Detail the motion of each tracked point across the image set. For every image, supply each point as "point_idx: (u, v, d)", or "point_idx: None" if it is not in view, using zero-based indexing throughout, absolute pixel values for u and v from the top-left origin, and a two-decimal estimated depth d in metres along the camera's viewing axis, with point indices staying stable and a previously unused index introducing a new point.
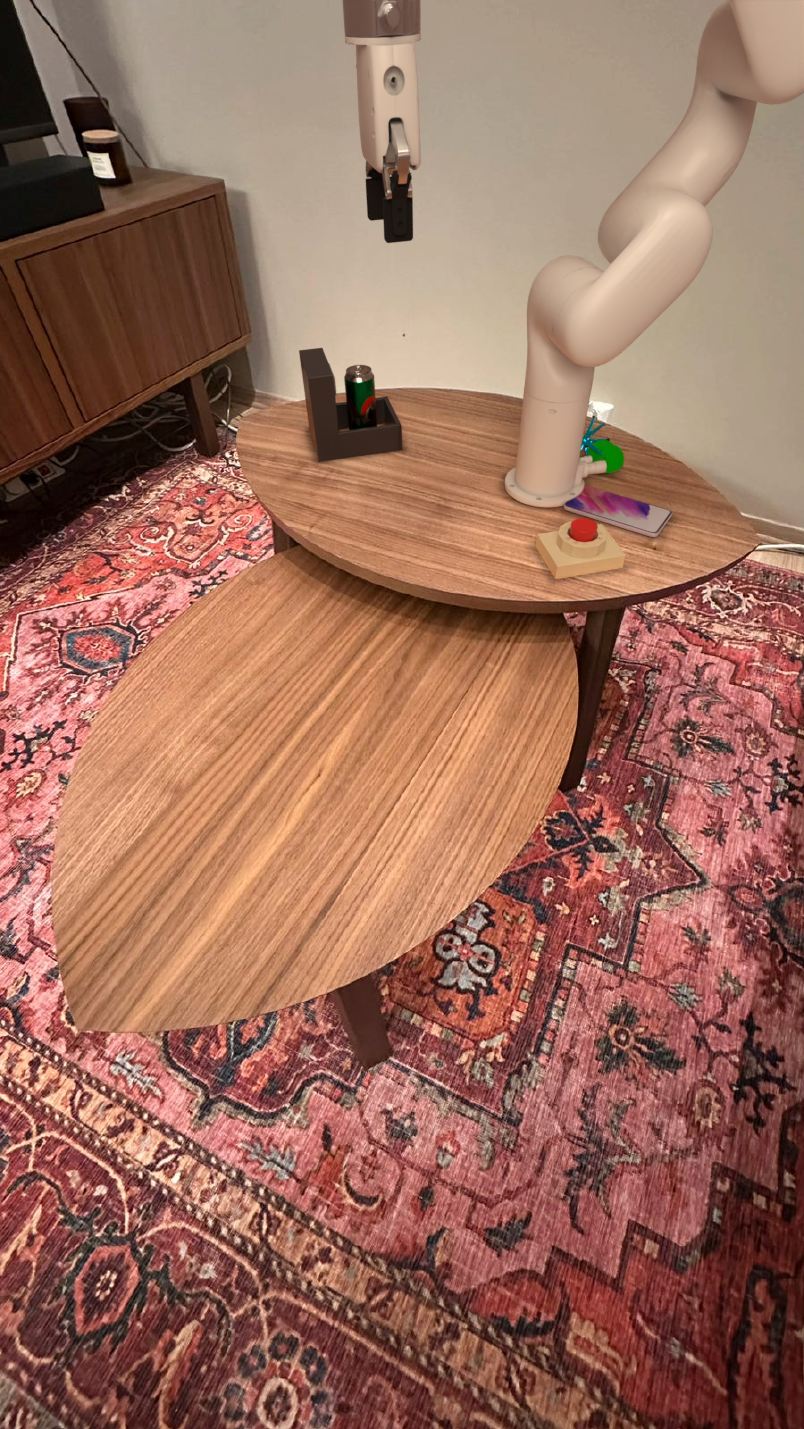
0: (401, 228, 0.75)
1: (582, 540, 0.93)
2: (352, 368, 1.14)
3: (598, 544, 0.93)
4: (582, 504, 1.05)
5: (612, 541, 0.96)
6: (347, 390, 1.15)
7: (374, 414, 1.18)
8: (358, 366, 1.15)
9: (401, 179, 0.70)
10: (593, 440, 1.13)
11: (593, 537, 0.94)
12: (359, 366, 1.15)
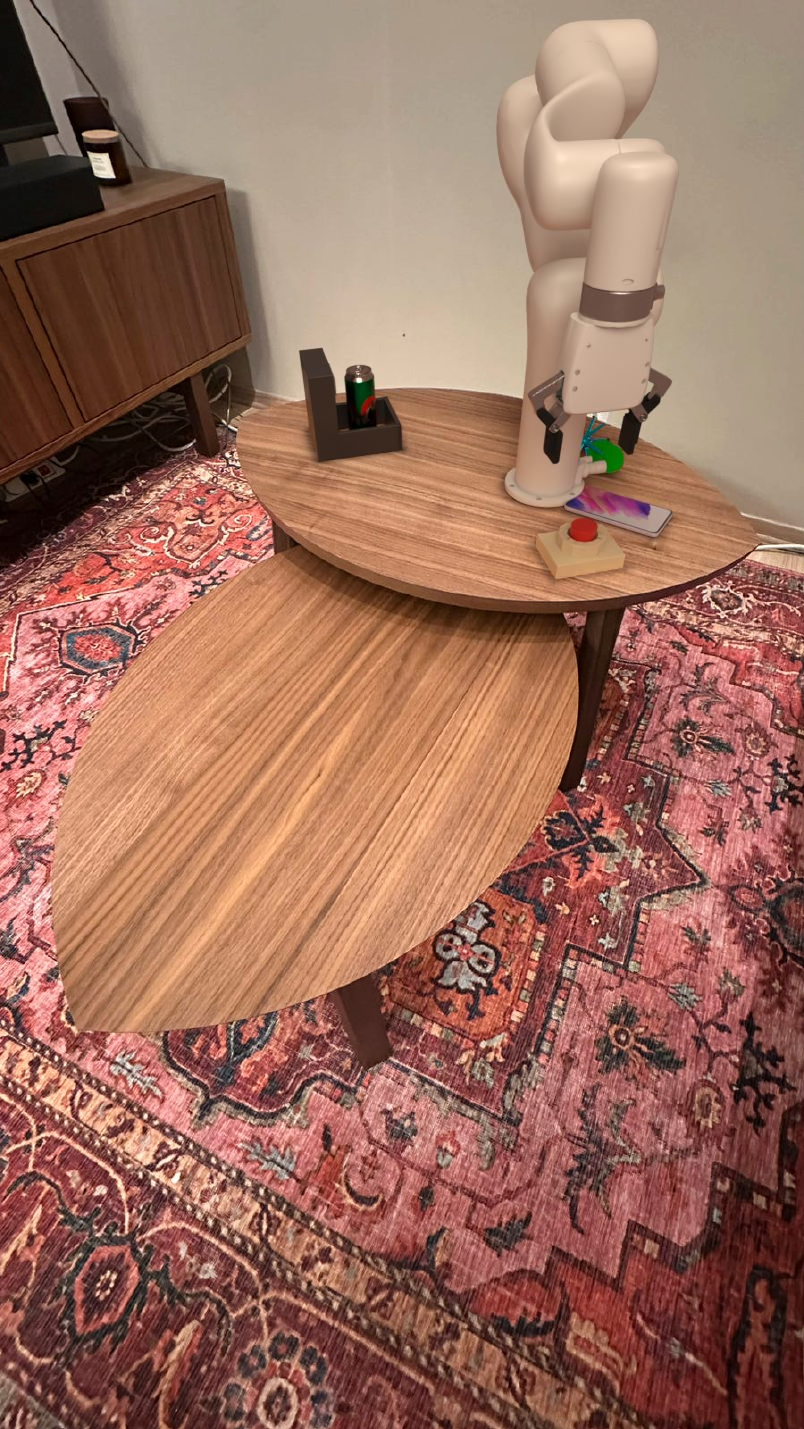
0: None
1: (582, 540, 0.93)
2: (352, 368, 1.14)
3: (598, 544, 0.93)
4: (583, 504, 1.05)
5: (612, 541, 0.96)
6: (347, 390, 1.15)
7: (374, 414, 1.18)
8: (358, 366, 1.15)
9: None
10: (593, 440, 1.13)
11: (593, 537, 0.94)
12: (359, 366, 1.15)
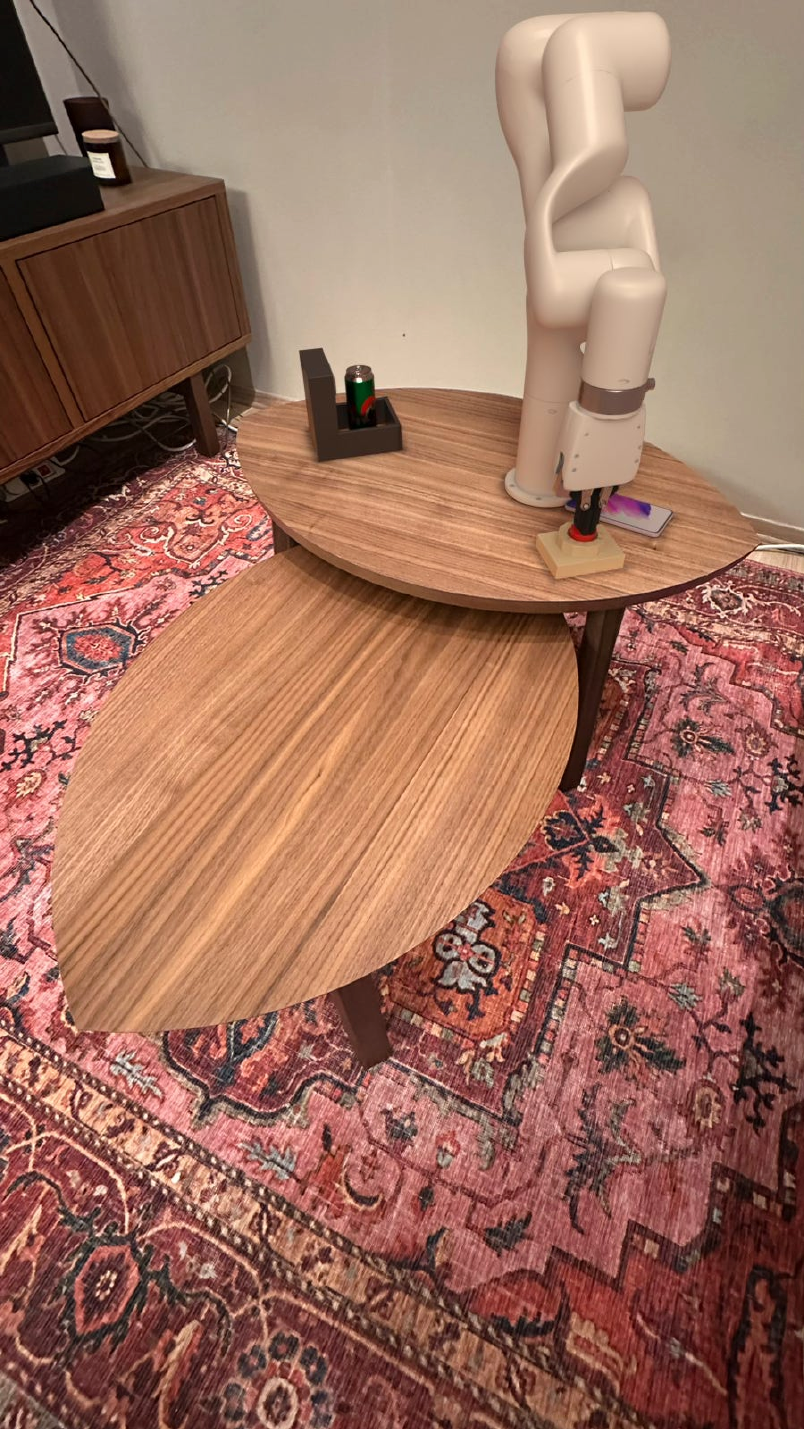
0: None
1: None
2: (352, 368, 1.14)
3: (598, 544, 0.93)
4: None
5: (612, 541, 0.96)
6: (347, 390, 1.15)
7: (374, 414, 1.18)
8: (358, 366, 1.15)
9: None
10: None
11: None
12: (359, 366, 1.15)
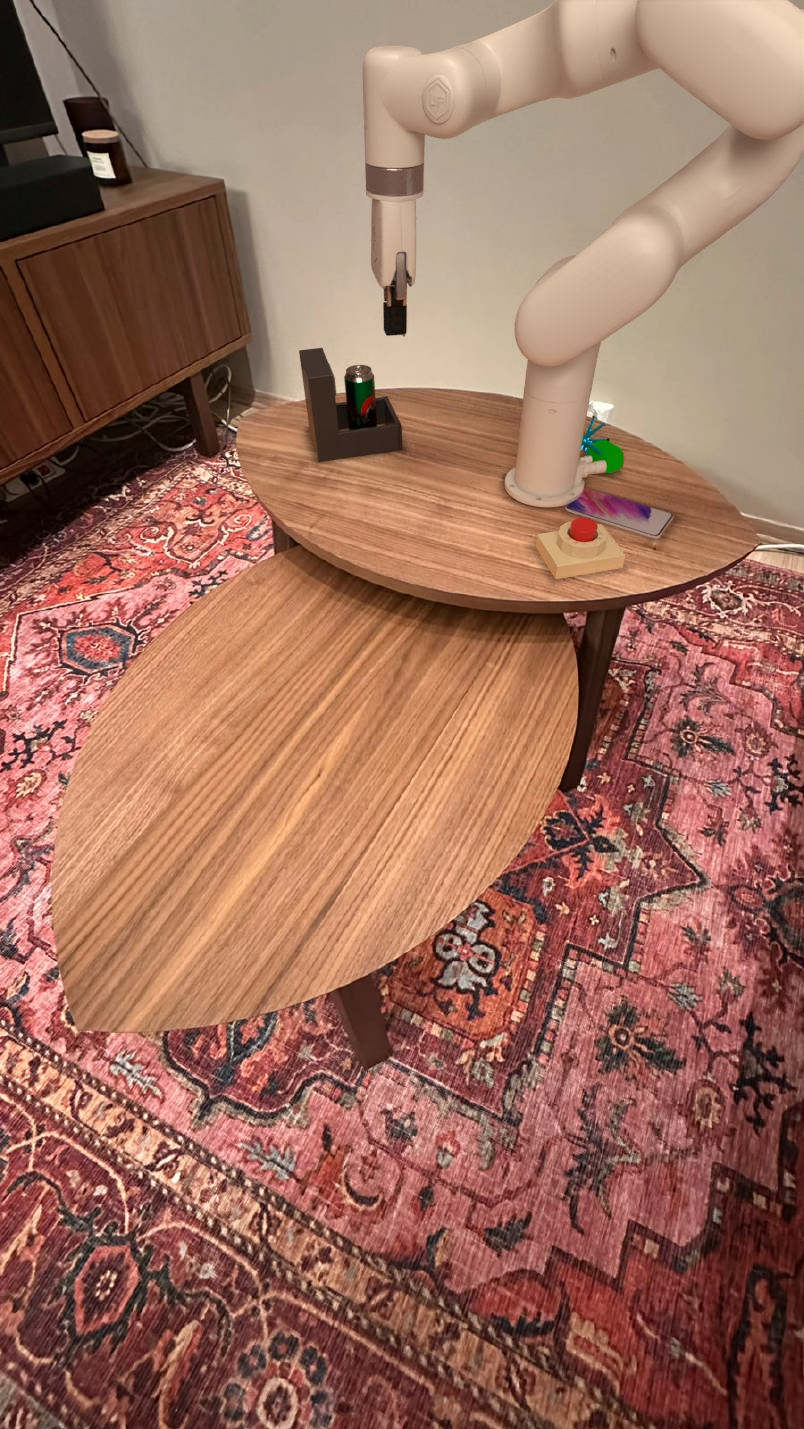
0: None
1: (582, 540, 0.93)
2: (352, 368, 1.14)
3: (598, 544, 0.93)
4: (584, 507, 1.05)
5: (612, 541, 0.96)
6: (347, 390, 1.15)
7: (374, 414, 1.18)
8: (358, 366, 1.15)
9: None
10: (593, 440, 1.13)
11: (593, 537, 0.94)
12: (359, 366, 1.15)
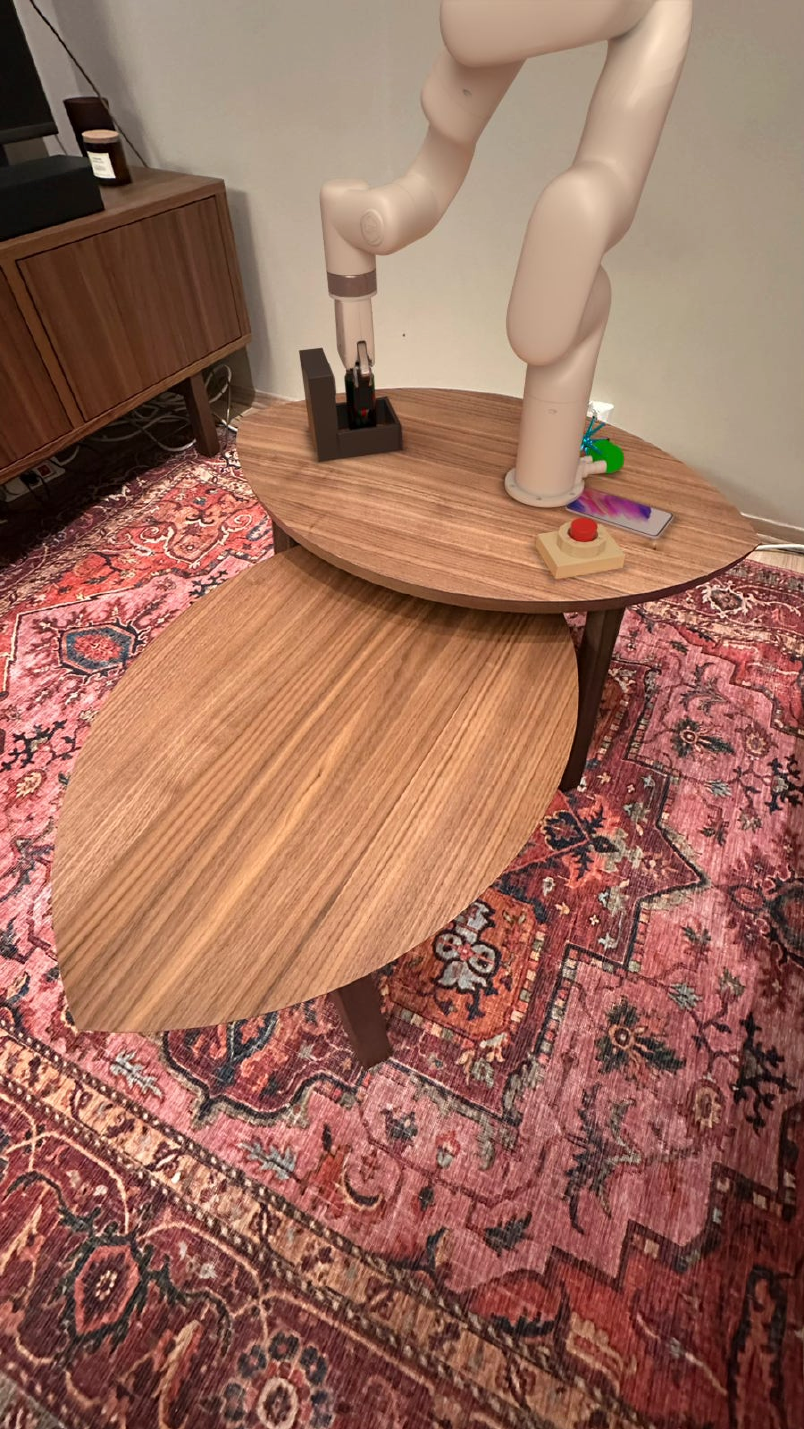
0: None
1: (582, 540, 0.93)
2: None
3: (598, 544, 0.93)
4: (584, 507, 1.05)
5: (612, 541, 0.96)
6: (347, 390, 1.15)
7: (374, 414, 1.18)
8: None
9: None
10: (593, 440, 1.13)
11: (593, 537, 0.94)
12: None
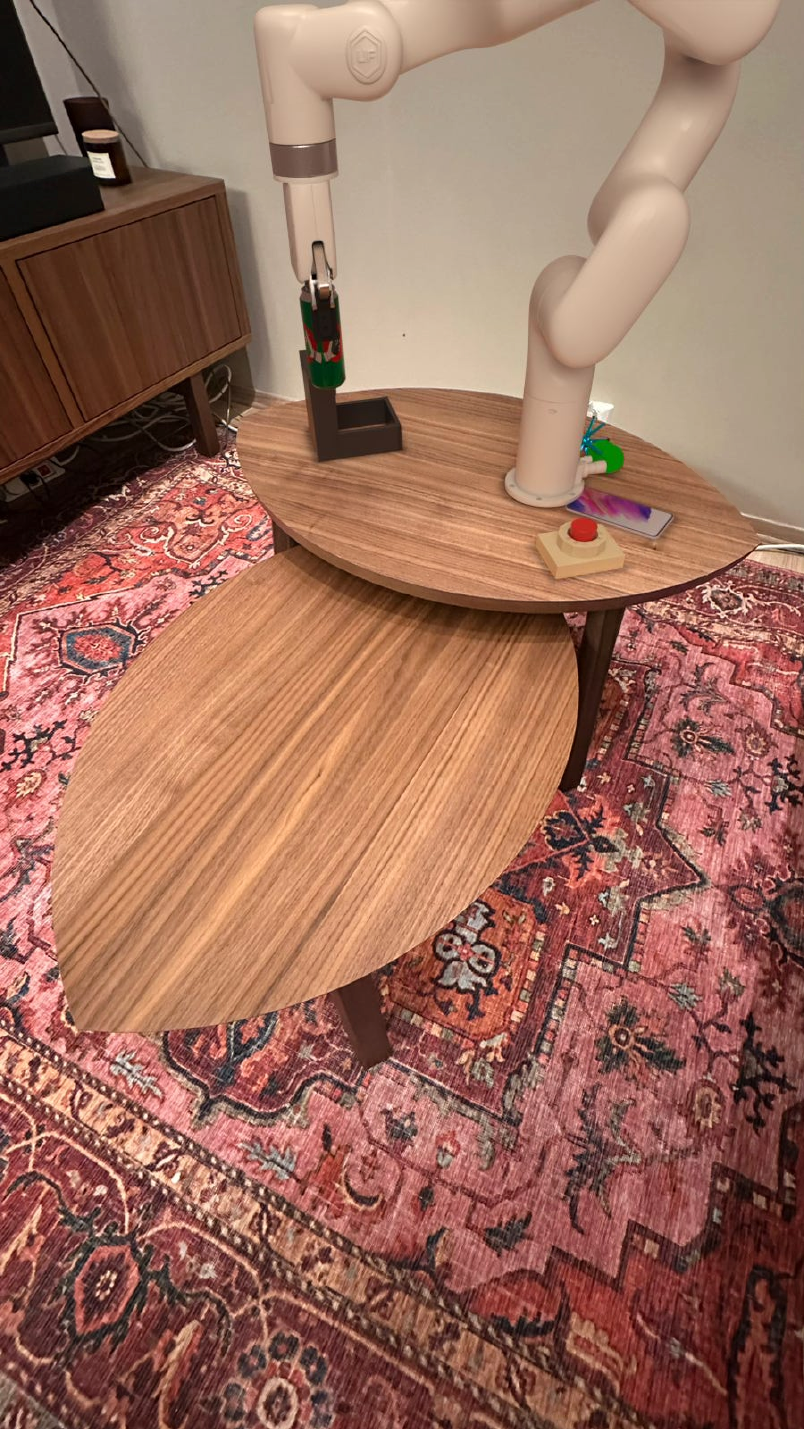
0: None
1: (582, 540, 0.93)
2: None
3: (598, 544, 0.93)
4: (584, 506, 1.05)
5: (612, 541, 0.96)
6: (303, 315, 0.89)
7: (340, 348, 0.92)
8: None
9: None
10: (593, 440, 1.13)
11: (593, 537, 0.94)
12: None
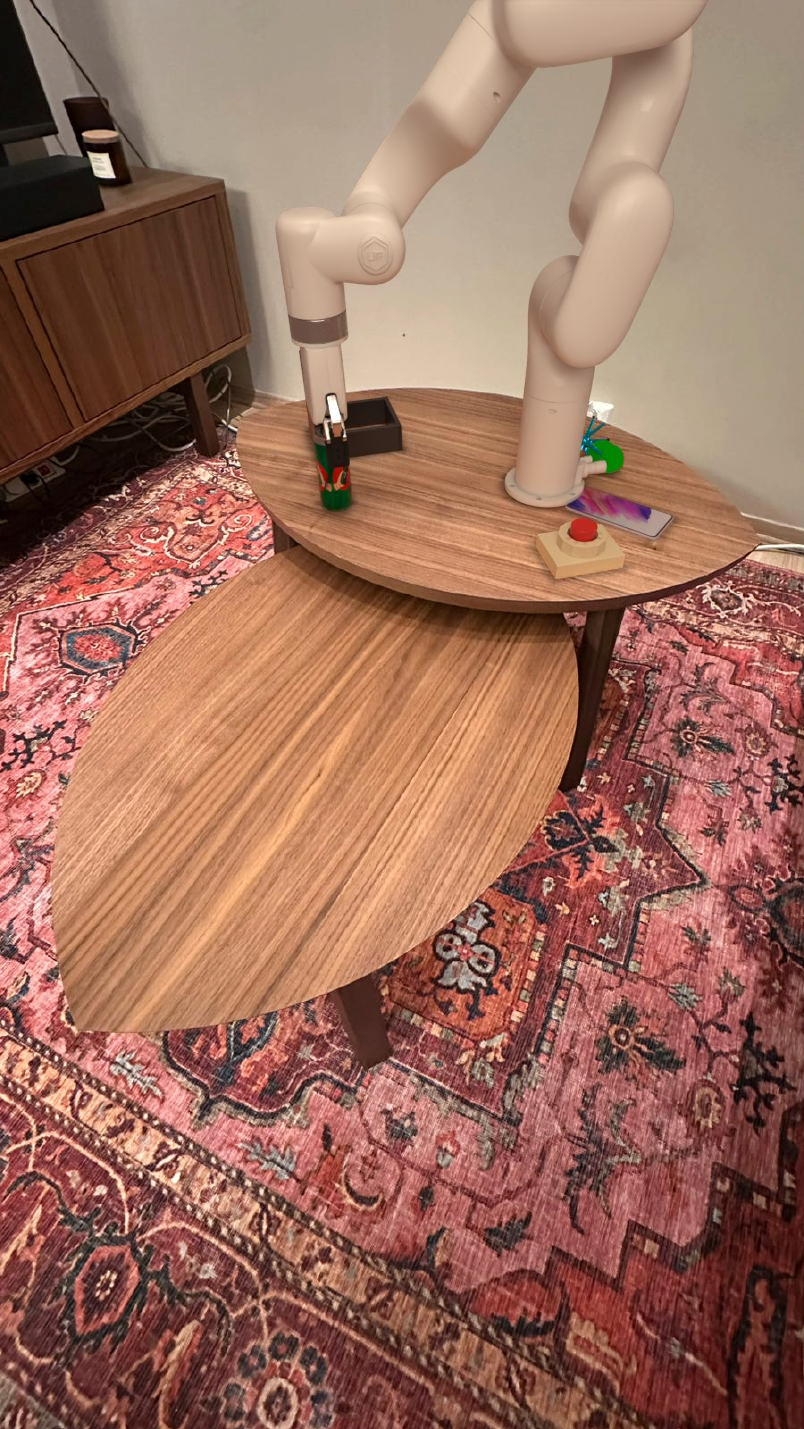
0: None
1: (582, 540, 0.93)
2: (321, 429, 1.00)
3: (598, 544, 0.93)
4: (584, 506, 1.06)
5: (612, 541, 0.96)
6: (316, 454, 1.01)
7: (348, 479, 1.04)
8: (329, 426, 1.01)
9: None
10: (593, 440, 1.13)
11: (593, 537, 0.94)
12: (330, 426, 1.01)
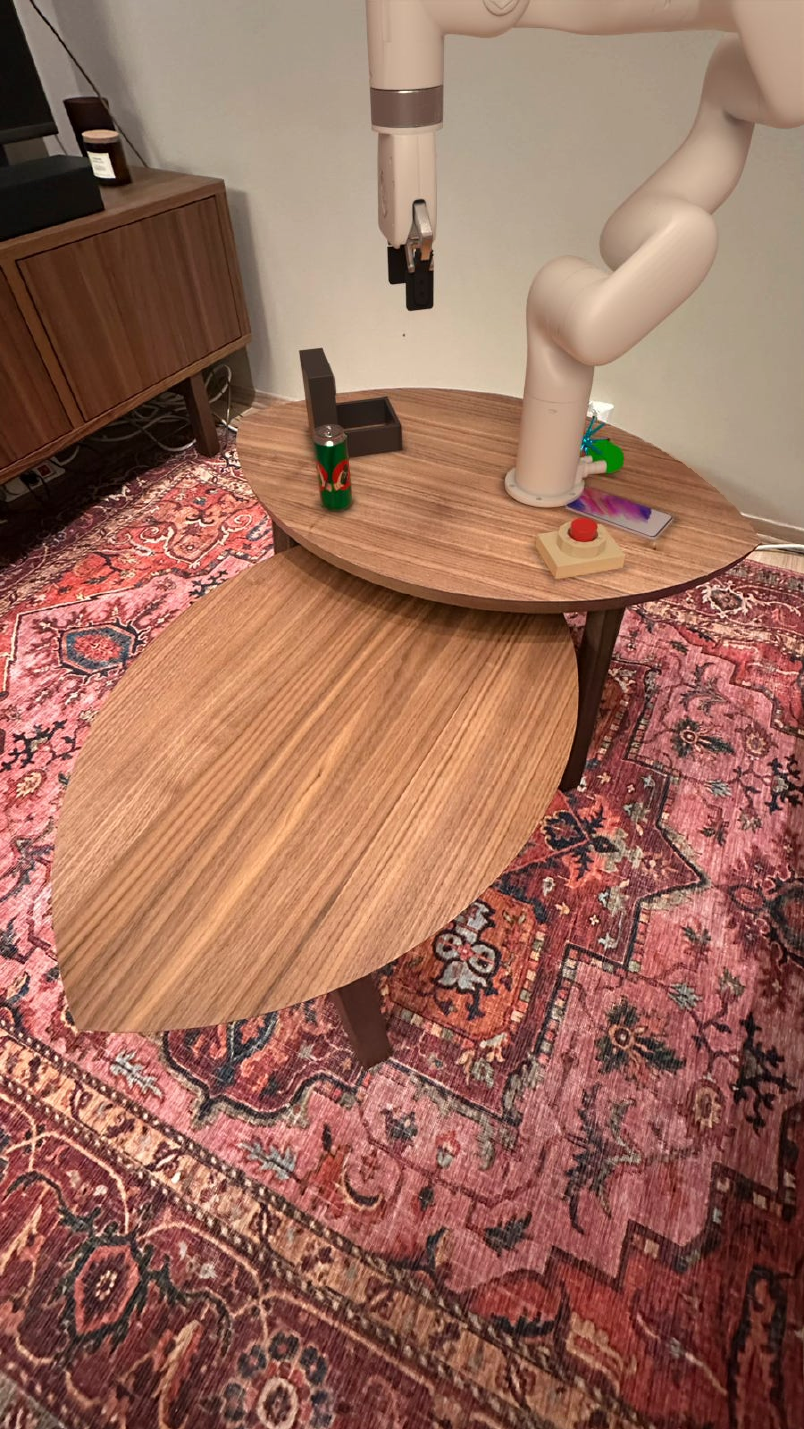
0: None
1: (582, 540, 0.93)
2: (321, 429, 1.00)
3: (598, 544, 0.93)
4: (584, 505, 1.06)
5: (612, 541, 0.96)
6: (316, 454, 1.01)
7: (348, 479, 1.04)
8: (329, 426, 1.01)
9: None
10: (593, 440, 1.13)
11: (593, 537, 0.94)
12: (330, 426, 1.01)
